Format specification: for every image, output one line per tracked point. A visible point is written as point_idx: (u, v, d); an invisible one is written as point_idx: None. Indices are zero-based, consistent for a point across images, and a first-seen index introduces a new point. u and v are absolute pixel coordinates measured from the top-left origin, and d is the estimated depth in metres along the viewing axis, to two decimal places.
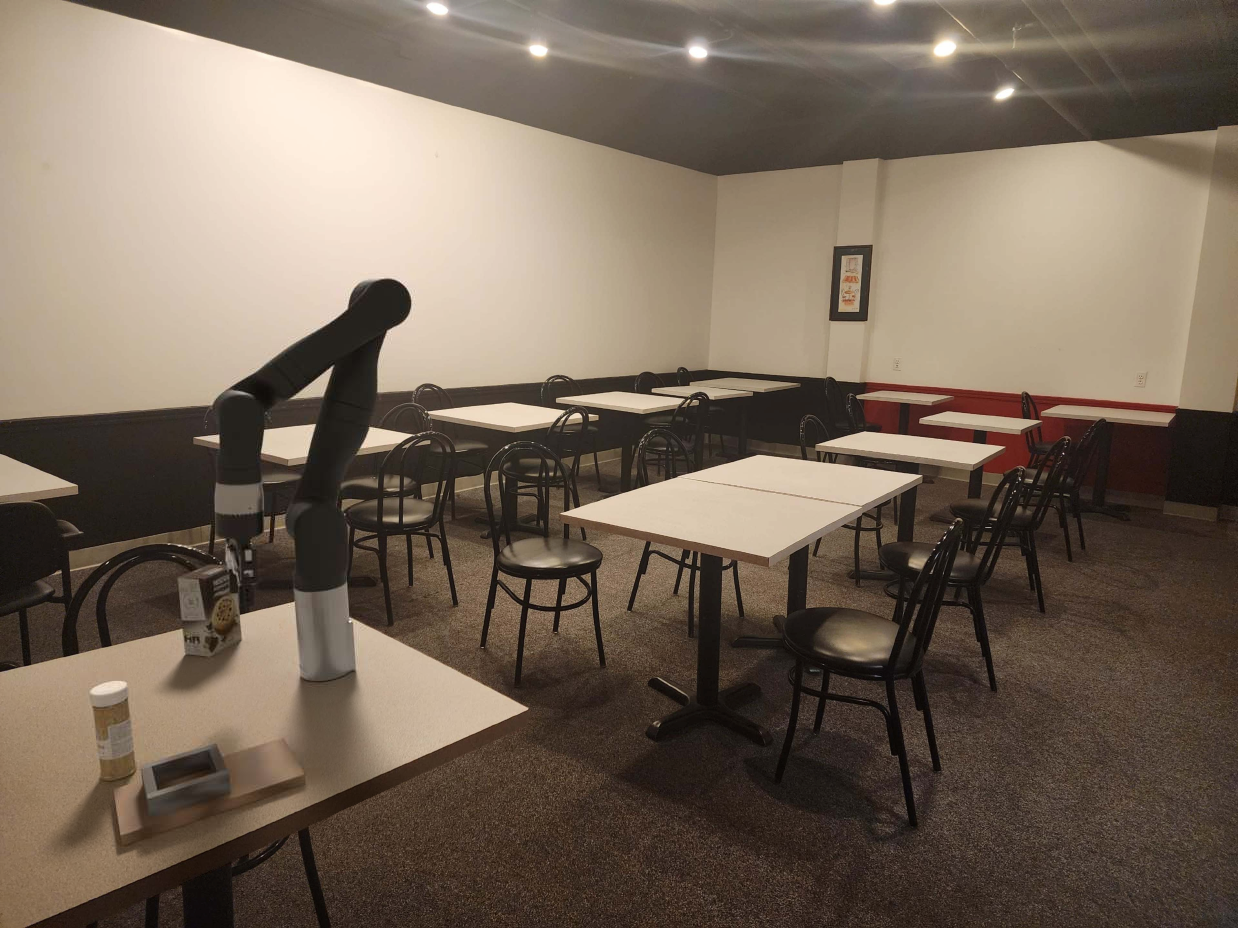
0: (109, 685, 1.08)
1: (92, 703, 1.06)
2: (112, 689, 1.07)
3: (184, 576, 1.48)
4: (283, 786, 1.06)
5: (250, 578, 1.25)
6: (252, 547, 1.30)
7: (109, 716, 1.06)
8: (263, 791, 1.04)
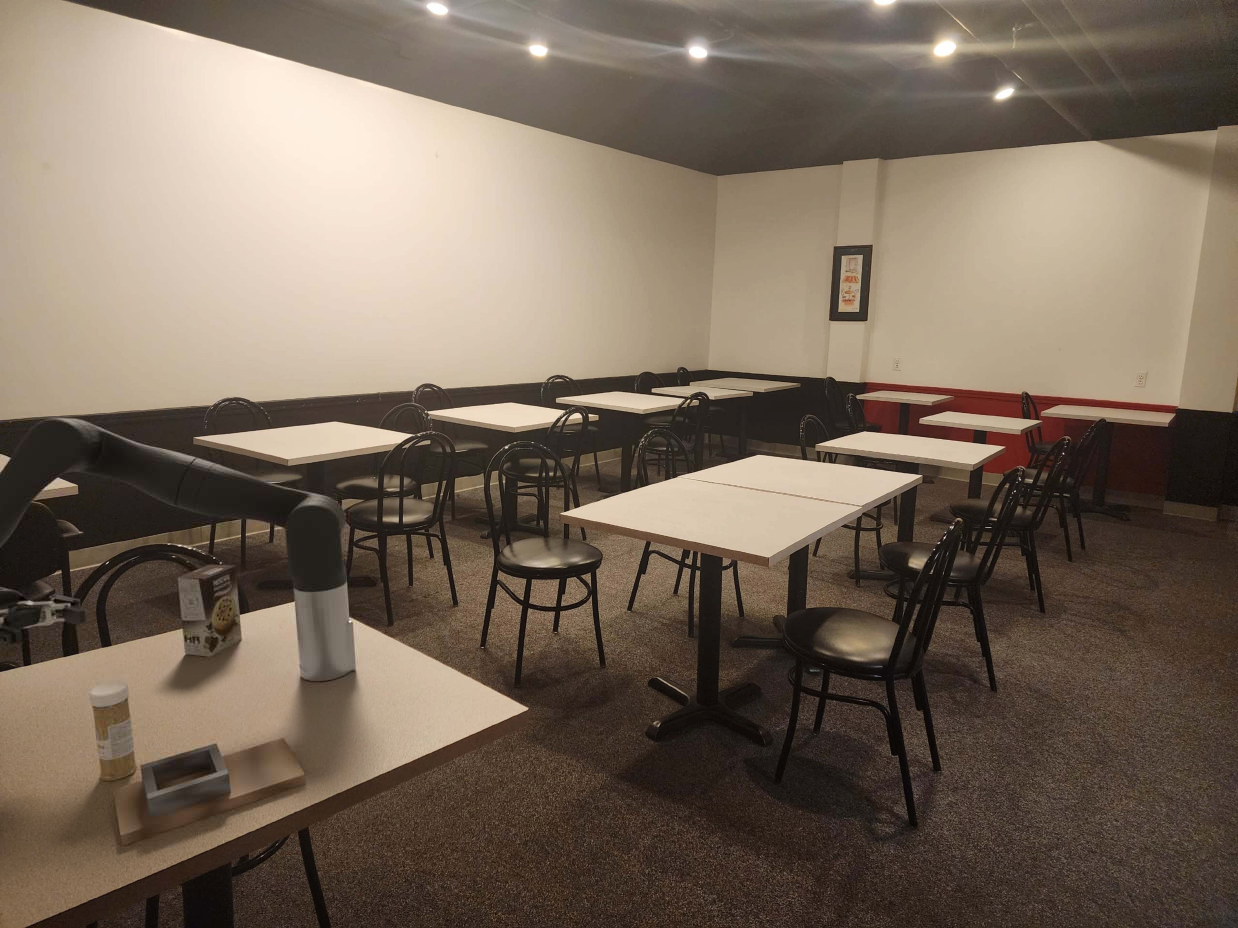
0: (109, 685, 1.08)
1: (92, 703, 1.06)
2: (112, 689, 1.07)
3: (184, 576, 1.47)
4: (283, 786, 1.06)
5: None
6: None
7: (109, 716, 1.06)
8: (263, 791, 1.04)
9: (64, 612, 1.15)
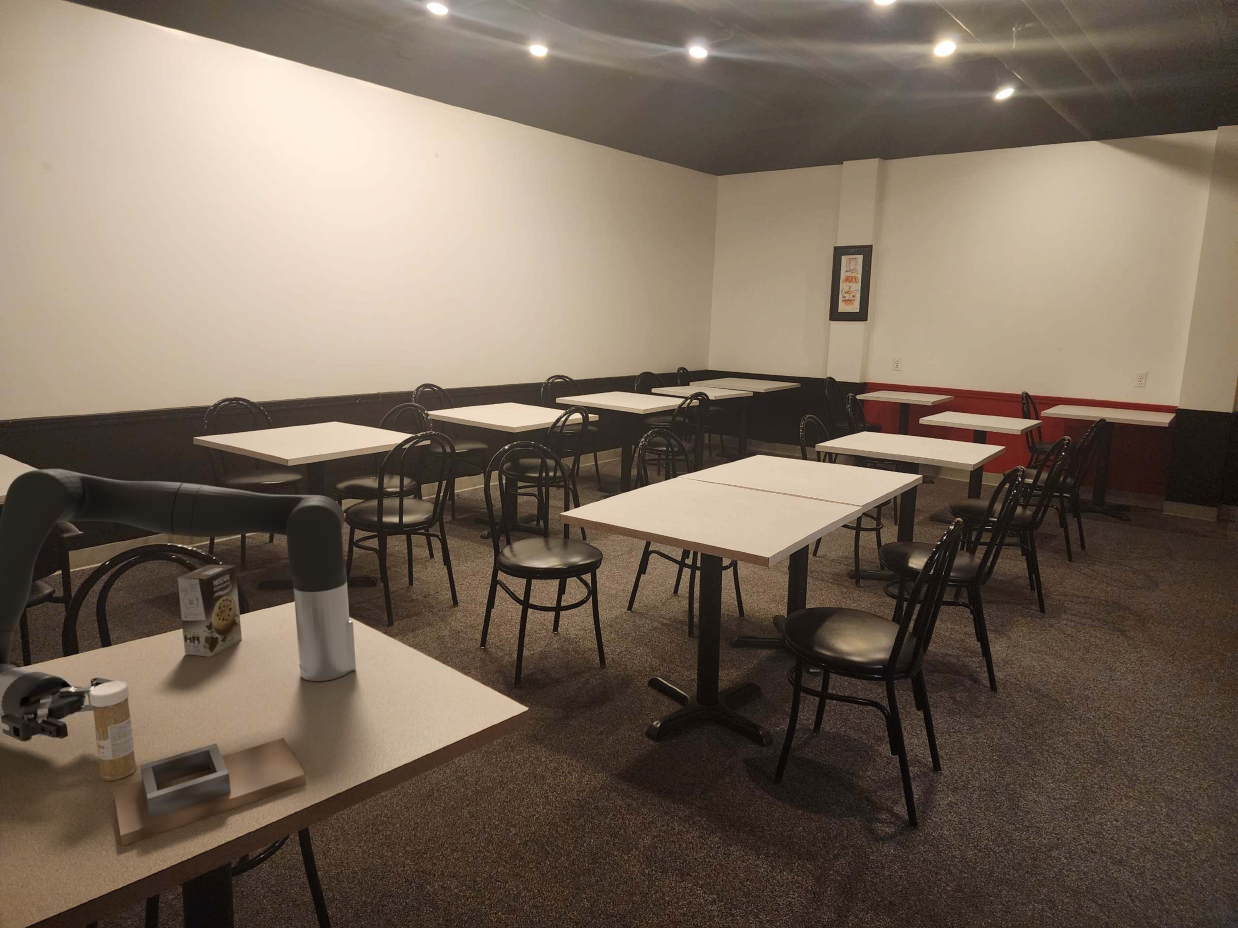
0: (109, 685, 1.08)
1: (92, 703, 1.06)
2: (112, 689, 1.07)
3: (184, 576, 1.48)
4: (283, 786, 1.06)
5: None
6: None
7: (109, 716, 1.06)
8: (263, 791, 1.04)
9: None
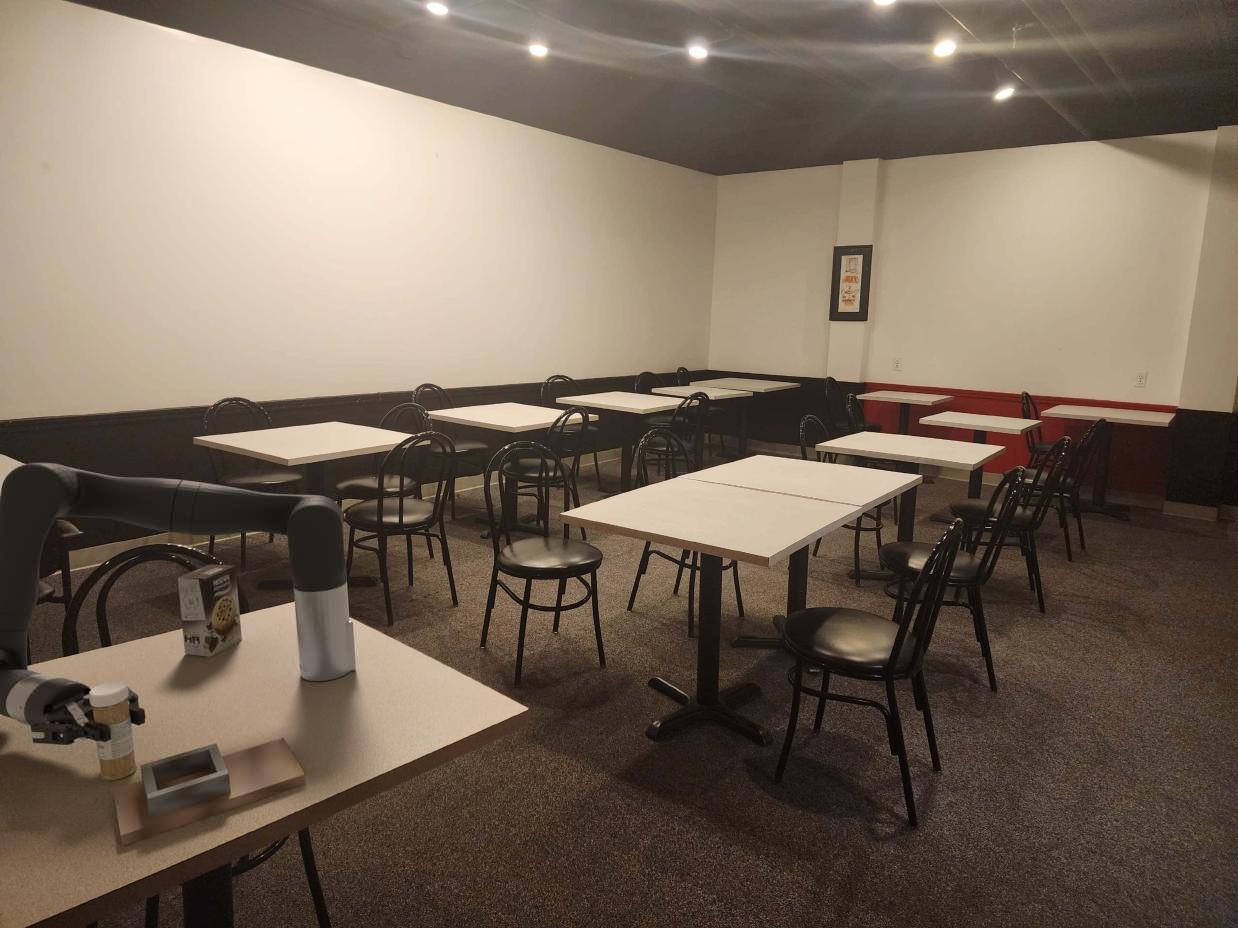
0: (108, 685, 1.08)
1: (92, 703, 1.06)
2: (112, 689, 1.07)
3: (184, 576, 1.48)
4: (283, 786, 1.06)
5: (63, 733, 1.05)
6: (65, 707, 1.09)
7: (109, 716, 1.06)
8: (263, 791, 1.04)
9: None
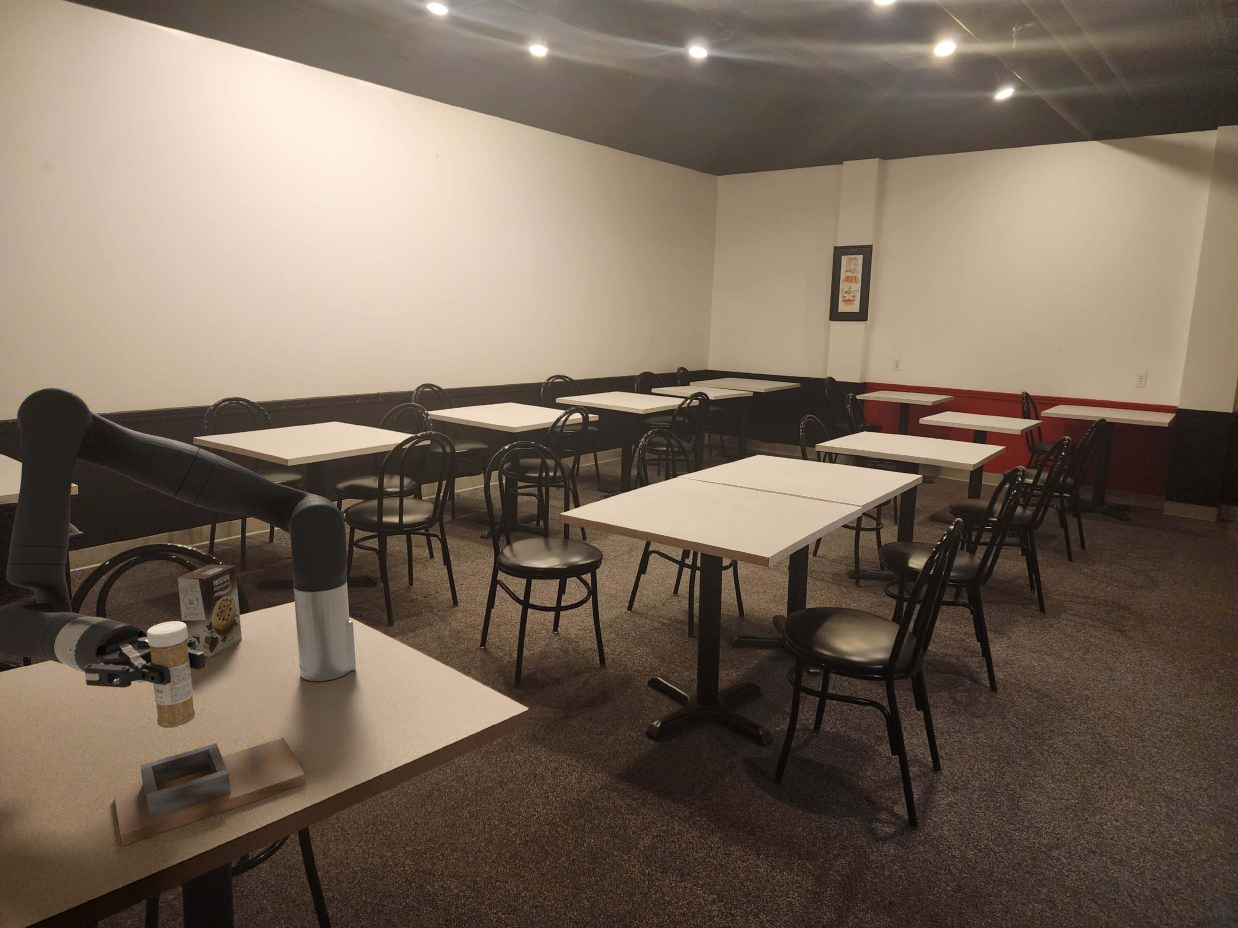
0: (167, 625, 1.00)
1: (150, 643, 0.98)
2: (171, 629, 0.99)
3: (184, 576, 1.48)
4: (283, 786, 1.06)
5: None
6: (119, 648, 1.01)
7: (168, 658, 0.98)
8: (263, 791, 1.04)
9: None
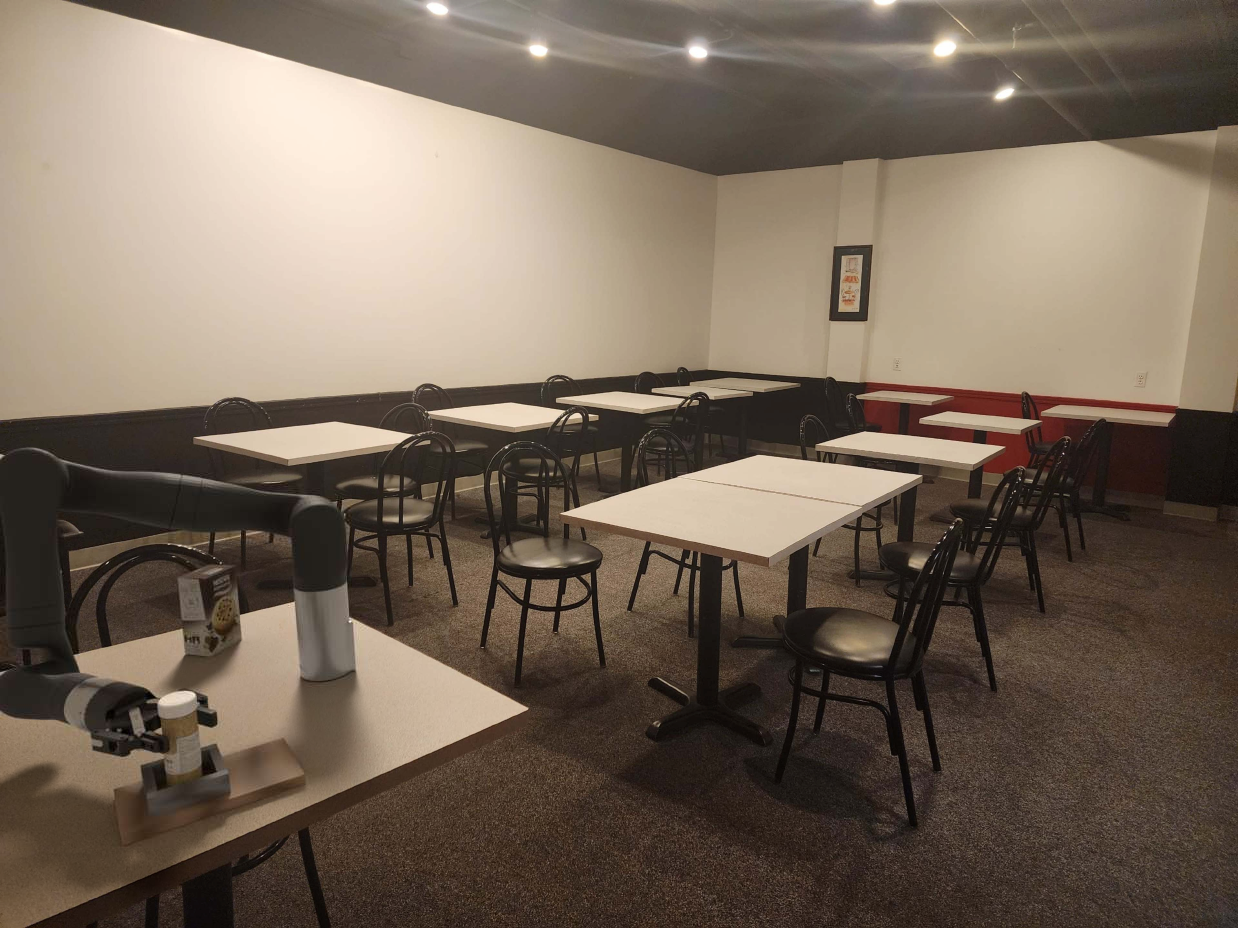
0: (177, 695, 1.02)
1: (160, 714, 1.00)
2: (181, 700, 1.01)
3: (184, 576, 1.48)
4: (283, 786, 1.06)
5: None
6: (129, 712, 1.03)
7: (178, 729, 1.00)
8: (263, 791, 1.04)
9: None
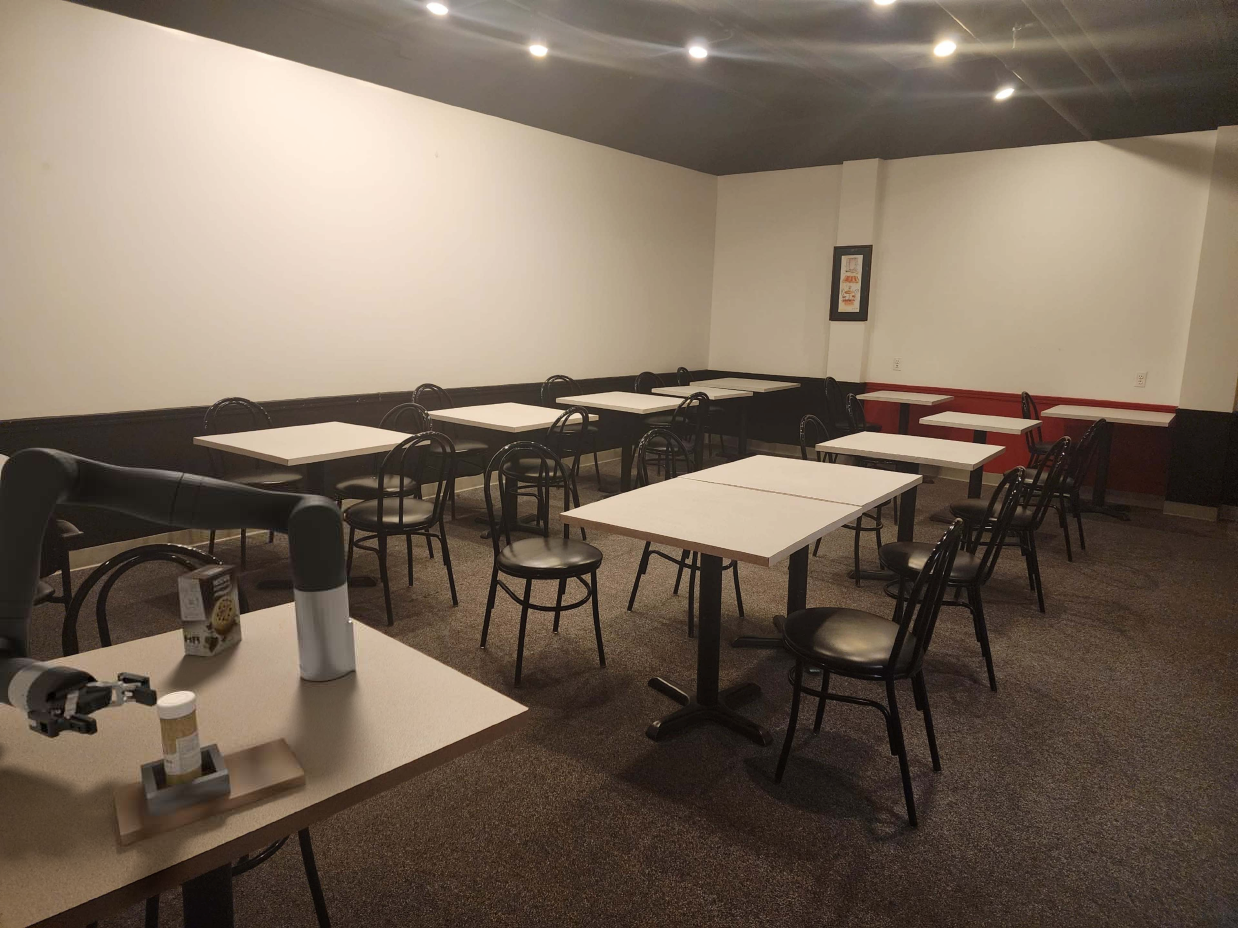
0: (176, 696, 1.02)
1: (159, 715, 1.00)
2: (180, 700, 1.01)
3: (184, 576, 1.48)
4: (283, 786, 1.06)
5: None
6: None
7: (177, 729, 1.00)
8: (263, 791, 1.04)
9: (135, 693, 1.11)
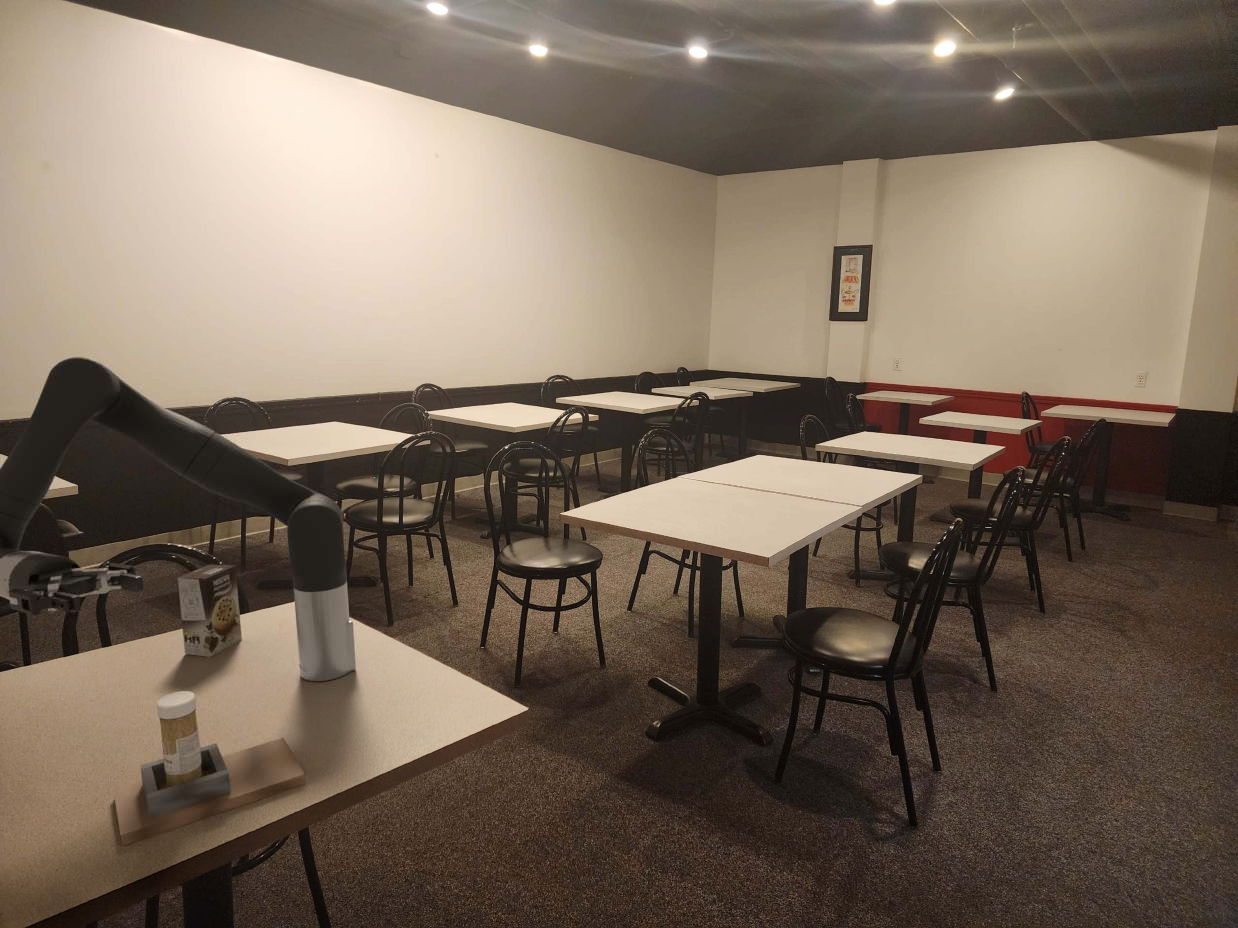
0: (176, 696, 1.02)
1: (159, 715, 1.00)
2: (180, 700, 1.01)
3: (184, 576, 1.47)
4: (283, 786, 1.06)
5: None
6: None
7: (177, 729, 1.00)
8: (263, 791, 1.04)
9: (120, 579, 1.08)
